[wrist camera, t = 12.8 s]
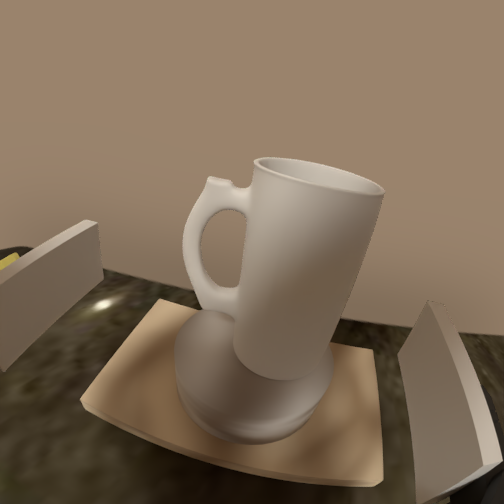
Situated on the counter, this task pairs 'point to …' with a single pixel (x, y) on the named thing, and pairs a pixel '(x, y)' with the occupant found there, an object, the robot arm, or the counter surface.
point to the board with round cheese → (242, 402)
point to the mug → (286, 259)
